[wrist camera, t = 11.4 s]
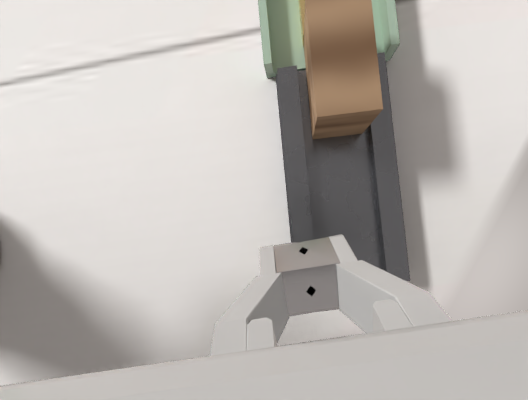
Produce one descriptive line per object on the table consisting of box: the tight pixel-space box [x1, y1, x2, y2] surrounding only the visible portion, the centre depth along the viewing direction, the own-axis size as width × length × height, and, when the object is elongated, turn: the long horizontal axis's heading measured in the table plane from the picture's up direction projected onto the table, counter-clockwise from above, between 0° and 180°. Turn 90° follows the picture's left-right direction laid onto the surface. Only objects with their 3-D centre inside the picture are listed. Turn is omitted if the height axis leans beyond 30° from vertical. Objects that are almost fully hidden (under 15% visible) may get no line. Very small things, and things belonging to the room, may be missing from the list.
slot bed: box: [276, 52, 410, 281], centre depth 29 cm, size 22×11×2 cm, turn 5°
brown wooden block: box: [304, 0, 383, 139], centre depth 25 cm, size 10×5×7 cm, turn 5°
